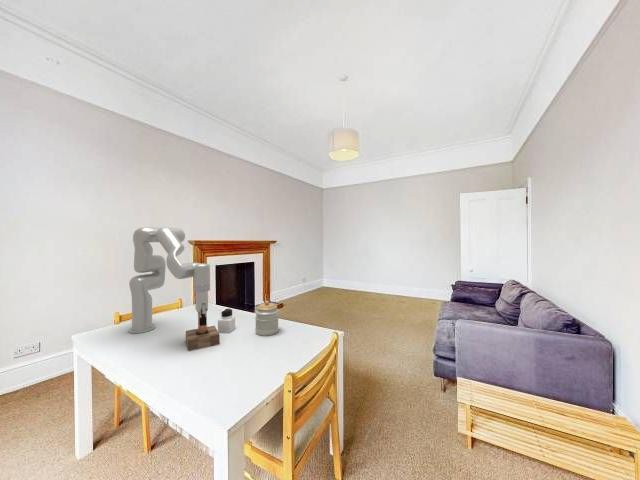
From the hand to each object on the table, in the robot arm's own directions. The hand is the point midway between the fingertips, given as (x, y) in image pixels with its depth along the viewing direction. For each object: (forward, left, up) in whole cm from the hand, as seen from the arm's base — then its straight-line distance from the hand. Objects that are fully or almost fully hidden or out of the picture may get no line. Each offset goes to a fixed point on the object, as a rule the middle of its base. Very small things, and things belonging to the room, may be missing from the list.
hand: (202, 323), depth 126 cm
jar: (+4, +33, -10) cm, 35 cm away
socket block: (0, 0, -10) cm, 10 cm away
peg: (0, 0, -4) cm, 4 cm away
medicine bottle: (-10, +14, -10) cm, 20 cm away
